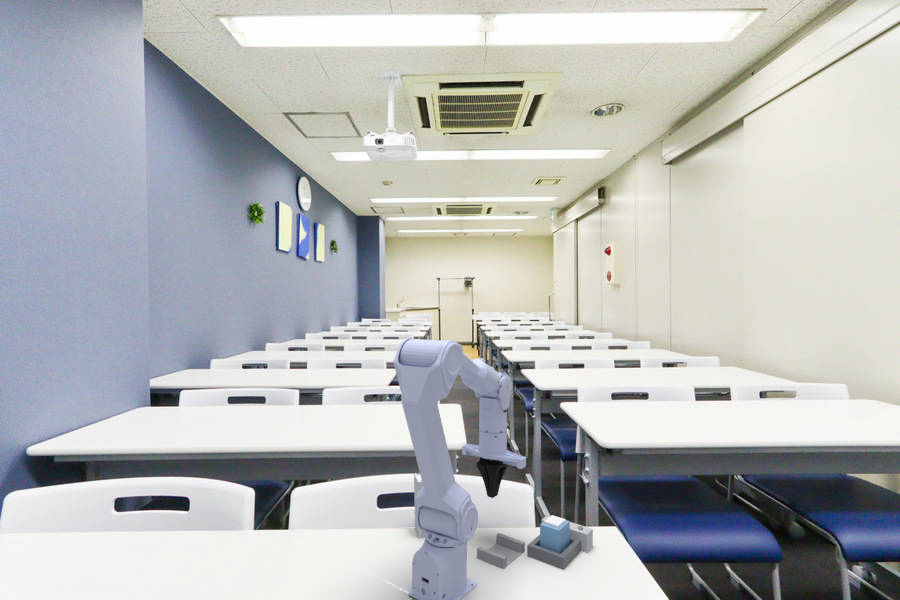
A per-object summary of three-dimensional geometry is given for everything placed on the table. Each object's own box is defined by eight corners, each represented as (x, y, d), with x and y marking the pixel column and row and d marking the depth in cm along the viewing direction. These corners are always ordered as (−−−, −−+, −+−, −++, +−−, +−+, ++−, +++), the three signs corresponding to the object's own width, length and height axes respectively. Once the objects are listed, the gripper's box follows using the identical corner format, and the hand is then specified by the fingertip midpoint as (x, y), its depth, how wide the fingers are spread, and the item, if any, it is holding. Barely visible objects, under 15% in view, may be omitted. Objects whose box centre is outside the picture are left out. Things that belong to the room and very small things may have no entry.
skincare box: (438, 538, 97) (438, 480, 97) (417, 540, 96) (417, 482, 96) (432, 525, 103) (433, 470, 103) (413, 527, 102) (413, 472, 102)
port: (569, 574, 84) (569, 550, 84) (521, 555, 90) (521, 533, 90) (592, 548, 93) (592, 527, 93) (547, 533, 99) (547, 513, 99)
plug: (559, 562, 87) (559, 528, 88) (539, 555, 90) (540, 521, 90) (569, 551, 91) (569, 518, 91) (551, 545, 94) (551, 513, 94)
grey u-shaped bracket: (503, 571, 85) (503, 559, 85) (477, 560, 88) (477, 548, 89) (524, 553, 91) (524, 542, 91) (498, 543, 95) (498, 532, 95)
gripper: (533, 431, 94) (533, 498, 94) (475, 420, 103) (474, 481, 102) (516, 439, 88) (515, 510, 88) (456, 427, 97) (455, 491, 97)
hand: (492, 495), depth 95 cm, fingers closed
